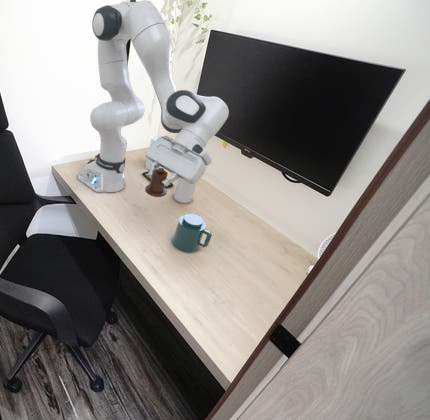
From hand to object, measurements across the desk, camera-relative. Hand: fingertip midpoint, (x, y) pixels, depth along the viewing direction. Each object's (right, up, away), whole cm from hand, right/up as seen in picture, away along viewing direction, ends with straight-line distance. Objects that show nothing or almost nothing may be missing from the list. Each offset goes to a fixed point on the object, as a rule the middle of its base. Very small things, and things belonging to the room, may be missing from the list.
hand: (157, 180), depth 102 cm
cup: (+18, +12, +62) cm, 66 cm away
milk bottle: (+24, -5, +40) cm, 46 cm away
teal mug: (+16, -22, +15) cm, 31 cm away
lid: (0, -3, +3) cm, 4 cm away
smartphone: (+17, +5, +52) cm, 55 cm away
